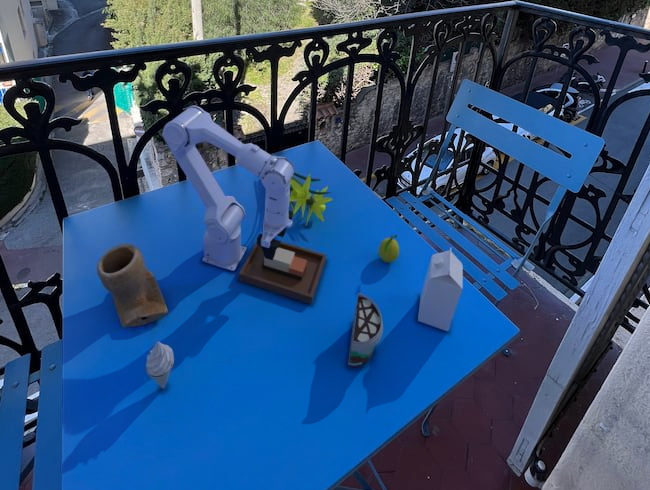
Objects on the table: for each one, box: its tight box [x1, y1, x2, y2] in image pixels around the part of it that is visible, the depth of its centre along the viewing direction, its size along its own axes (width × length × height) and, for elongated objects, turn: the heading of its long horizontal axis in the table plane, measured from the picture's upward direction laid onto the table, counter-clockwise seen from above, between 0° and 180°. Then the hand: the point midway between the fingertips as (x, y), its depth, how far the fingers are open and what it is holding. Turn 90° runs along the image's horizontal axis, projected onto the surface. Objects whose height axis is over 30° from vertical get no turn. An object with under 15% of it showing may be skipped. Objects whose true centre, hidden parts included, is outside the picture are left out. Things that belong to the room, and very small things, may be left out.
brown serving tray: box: [238, 241, 327, 305], centre depth 107 cm, size 20×14×2 cm
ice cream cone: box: [145, 340, 175, 390], centre depth 77 cm, size 5×5×15 cm
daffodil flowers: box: [289, 171, 333, 227], centre depth 127 cm, size 17×15×35 cm
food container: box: [347, 292, 384, 368], centre depth 88 cm, size 12×6×10 cm, turn 168°
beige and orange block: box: [262, 248, 307, 280], centre depth 106 cm, size 11×4×4 cm, turn 74°
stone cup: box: [96, 243, 168, 328], centre depth 92 cm, size 15×12×15 cm
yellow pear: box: [378, 232, 400, 263], centre depth 110 cm, size 7×6×10 cm
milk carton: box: [417, 247, 464, 332], centre depth 95 cm, size 7×7×19 cm
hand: (274, 246), depth 102 cm, fingers open, 7 cm apart
